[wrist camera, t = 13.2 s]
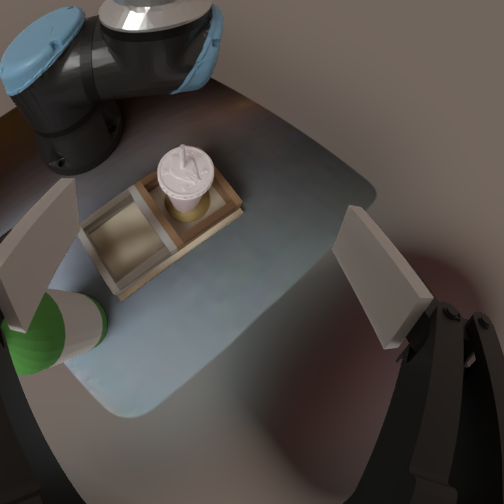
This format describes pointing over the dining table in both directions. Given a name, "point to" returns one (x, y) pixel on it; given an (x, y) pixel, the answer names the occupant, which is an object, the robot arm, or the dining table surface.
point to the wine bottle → (56, 331)
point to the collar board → (152, 231)
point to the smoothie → (185, 176)
